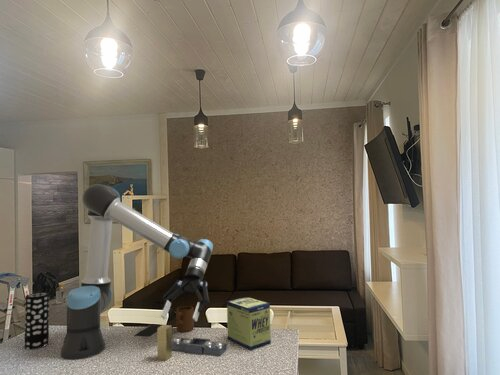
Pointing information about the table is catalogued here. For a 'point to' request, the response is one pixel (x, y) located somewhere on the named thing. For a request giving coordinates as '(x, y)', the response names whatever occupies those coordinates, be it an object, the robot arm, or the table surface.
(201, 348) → the grey link plate
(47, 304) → the white-spotted black cylinder
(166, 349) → the gold block
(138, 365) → the table surface
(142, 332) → the smartphone
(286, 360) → the table surface
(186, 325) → the mug
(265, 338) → the protein box
